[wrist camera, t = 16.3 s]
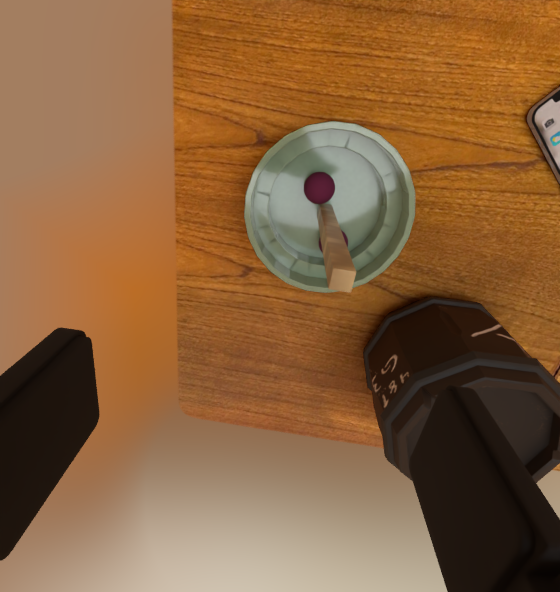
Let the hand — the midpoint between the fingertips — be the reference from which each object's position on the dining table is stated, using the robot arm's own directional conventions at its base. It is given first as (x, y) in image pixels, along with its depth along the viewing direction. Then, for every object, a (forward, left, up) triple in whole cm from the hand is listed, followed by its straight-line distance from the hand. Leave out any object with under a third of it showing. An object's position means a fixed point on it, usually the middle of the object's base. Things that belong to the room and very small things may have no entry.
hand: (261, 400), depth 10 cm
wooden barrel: (+27, +2, -33) cm, 43 cm away
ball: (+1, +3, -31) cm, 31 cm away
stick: (+3, +2, -22) cm, 23 cm away
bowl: (+3, +2, -33) cm, 33 cm away
